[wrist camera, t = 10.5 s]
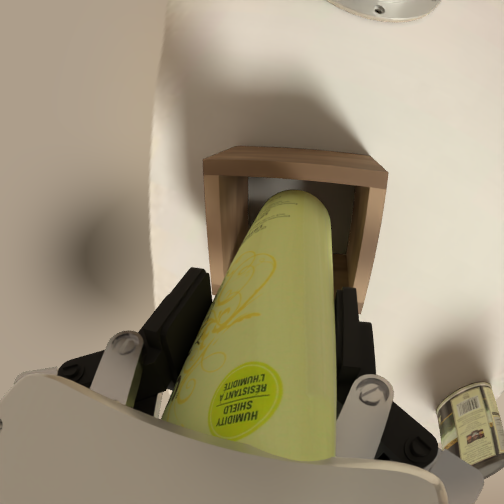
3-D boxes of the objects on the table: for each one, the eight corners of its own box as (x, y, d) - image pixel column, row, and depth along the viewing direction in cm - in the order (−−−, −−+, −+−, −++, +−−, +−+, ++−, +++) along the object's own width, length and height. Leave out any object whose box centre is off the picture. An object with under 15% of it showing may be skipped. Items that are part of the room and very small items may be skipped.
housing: (236, 146, 23) (202, 159, 17) (370, 155, 20) (388, 172, 14) (240, 310, 31) (219, 356, 25) (342, 323, 28) (341, 374, 22)
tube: (260, 175, 18) (11, 492, 2) (337, 183, 17) (314, 617, 1) (258, 250, 21) (121, 534, 5) (327, 259, 20) (277, 581, 4)
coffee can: (453, 423, 33) (461, 490, 21) (424, 410, 32) (431, 490, 20) (500, 391, 28) (517, 460, 16) (477, 373, 27) (499, 457, 15)
